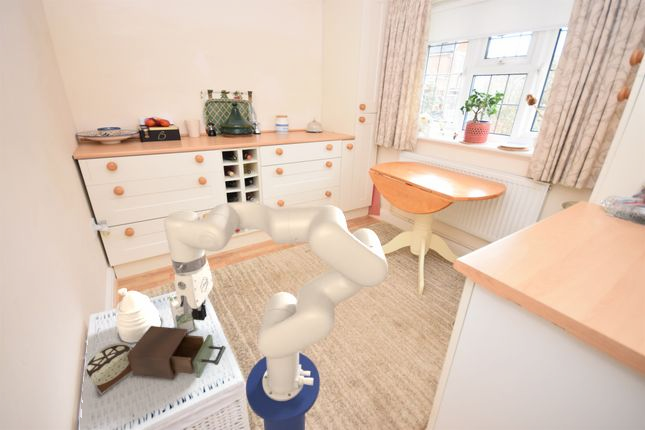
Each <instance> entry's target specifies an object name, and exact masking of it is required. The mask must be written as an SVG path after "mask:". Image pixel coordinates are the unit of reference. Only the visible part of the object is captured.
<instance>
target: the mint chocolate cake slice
mask: <svg viewBox="0 0 645 430" xmlns="http://www.w3.org/2000/svg"><path fill="white" fill-rule="evenodd" d="M133 347H134V346H132V345H131V344H130V343H128V342H114V343H111V344H108V345H106V346H104V347H102V348H100V349H98V350H97V351H96V352H95V353H93V354H92V355H91V356H90V357H89V358H88V360H87V362H86V364H85V366H84V377H85V379H86V381H88V378H89V379H90V381H91V383H92V384H93V386H94V387H95V388H96V390H97V392H99V394H100V395H103V394H104V393H105V392H107V391H108V390H110V389H111V388H112V387H114V386H115V385H116V384H118V383H119V382H120V381H122V380H123V379H124V378H126V377H127V376H129V375H130V374H132V373H133V372H132V369H131V366H130V363H129V360H128V357H127V355H128V353H129V352H130V351H131V350H132V348H133Z"/></svg>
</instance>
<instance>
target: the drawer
mask: <svg viewBox="0 0 645 430" xmlns="http://www.w3.org/2000/svg"><path fill="white" fill-rule="evenodd" d="M226 348H227V347H226V346H225V345H221V346H214V340H213V335H212V334H207V336H206V338H204V336H203V335H194V334H193V335H192V334H189V335H185V336H184V338H183V339H182V341H181V342H180V344H179V345H178V347H177V349H176V350H175V352H174V353H173V355H172V356H171V358H170V362H171V366H172V370H173V372H174V373H176V374H184V375H194V374H195V379H200V378H201V376H202V375H203V372H204V371H205V369H206V366H207V365H208V364H213V365H215V366H218V365H219V363H220V361H221V359H222V357H223V355H224V352H225V350H226ZM215 350H219V351H218V353H217V355H216V357H215V359H211V357H212V355H213V354H214V351H215Z"/></svg>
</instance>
